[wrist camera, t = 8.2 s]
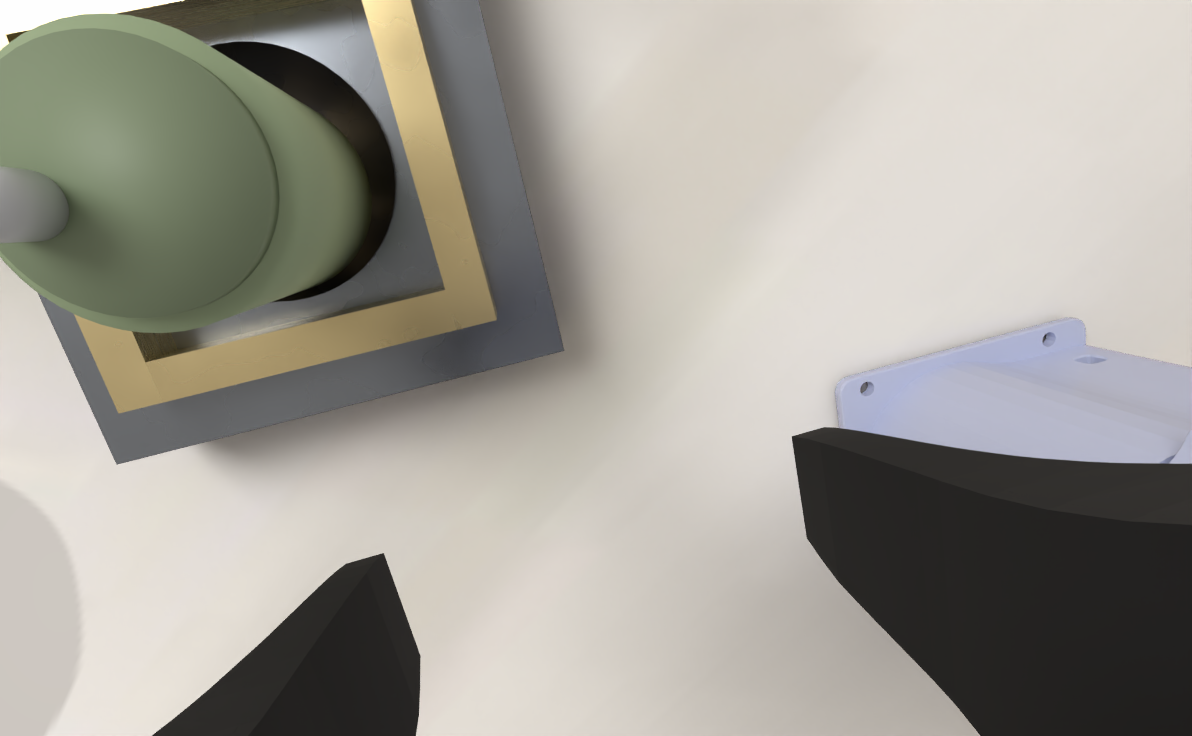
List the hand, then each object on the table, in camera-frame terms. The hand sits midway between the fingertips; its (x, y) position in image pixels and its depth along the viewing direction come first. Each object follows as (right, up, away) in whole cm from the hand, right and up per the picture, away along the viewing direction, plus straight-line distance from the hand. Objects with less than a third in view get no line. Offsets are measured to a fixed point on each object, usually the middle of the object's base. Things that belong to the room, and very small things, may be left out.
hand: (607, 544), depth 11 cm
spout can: (-8, +7, +5) cm, 12 cm away
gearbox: (-10, +8, +7) cm, 15 cm away
